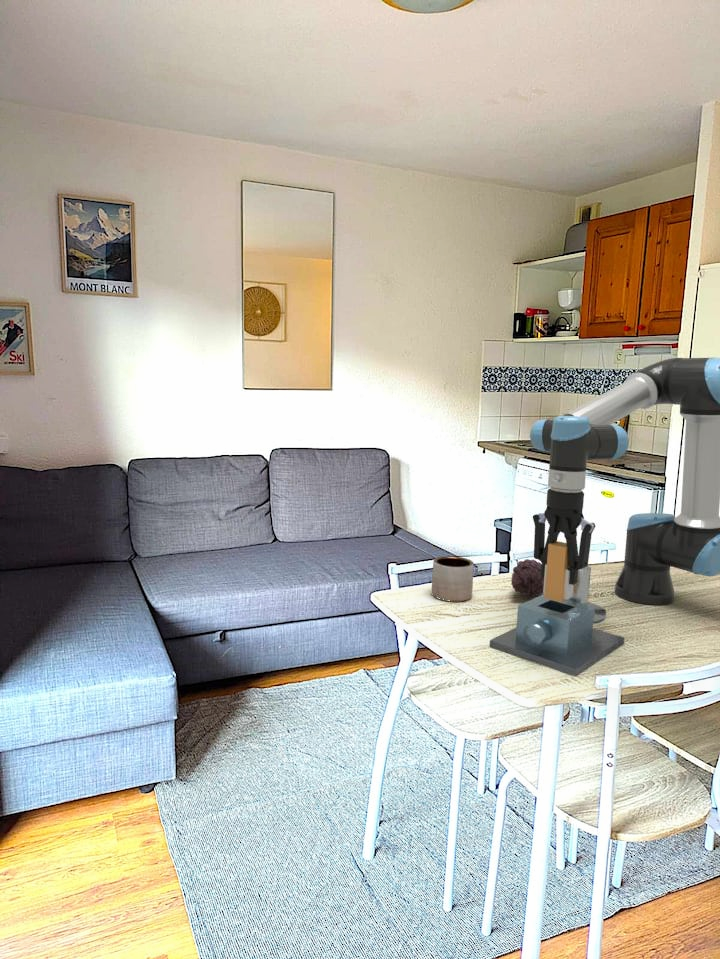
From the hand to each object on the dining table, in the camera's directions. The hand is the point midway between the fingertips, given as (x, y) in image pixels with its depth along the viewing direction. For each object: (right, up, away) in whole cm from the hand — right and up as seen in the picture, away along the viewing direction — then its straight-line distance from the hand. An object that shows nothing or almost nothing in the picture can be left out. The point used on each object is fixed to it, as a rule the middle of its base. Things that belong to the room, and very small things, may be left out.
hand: (557, 594), depth 148 cm
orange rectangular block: (0, -1, 0) cm, 1 cm away
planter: (-18, -6, +35) cm, 40 cm away
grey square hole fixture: (+2, -12, +4) cm, 13 cm away
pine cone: (+3, -7, +37) cm, 38 cm away
